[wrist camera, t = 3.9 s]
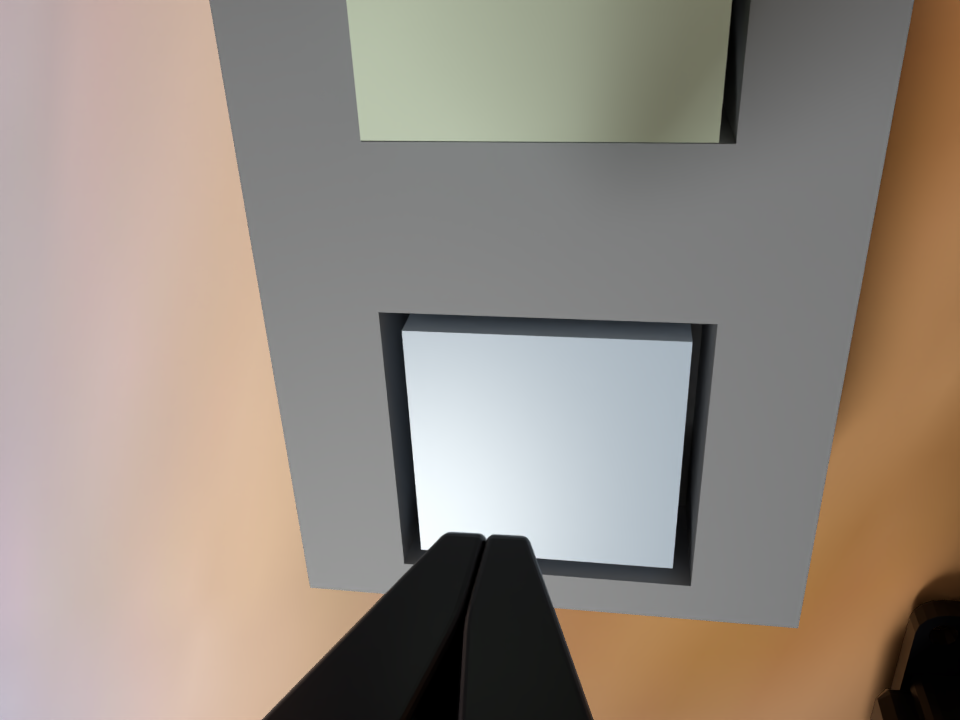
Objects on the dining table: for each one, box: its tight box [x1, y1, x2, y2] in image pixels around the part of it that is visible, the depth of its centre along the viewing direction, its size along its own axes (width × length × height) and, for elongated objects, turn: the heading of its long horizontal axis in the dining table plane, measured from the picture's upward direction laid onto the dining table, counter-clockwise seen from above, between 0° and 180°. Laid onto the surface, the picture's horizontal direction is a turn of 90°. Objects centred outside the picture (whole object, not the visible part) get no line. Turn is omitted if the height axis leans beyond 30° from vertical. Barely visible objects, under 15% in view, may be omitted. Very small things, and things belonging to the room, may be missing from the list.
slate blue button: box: [402, 313, 692, 568], centre depth 14 cm, size 4×4×2 cm
